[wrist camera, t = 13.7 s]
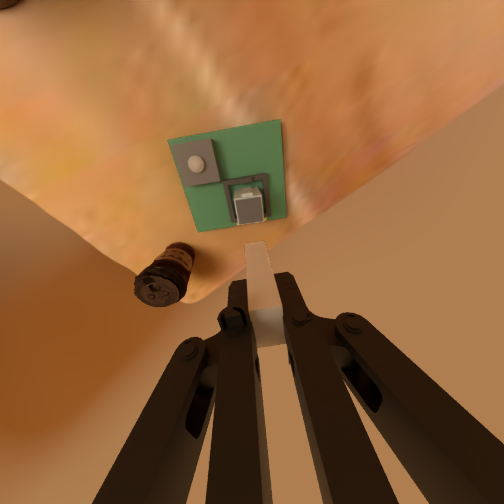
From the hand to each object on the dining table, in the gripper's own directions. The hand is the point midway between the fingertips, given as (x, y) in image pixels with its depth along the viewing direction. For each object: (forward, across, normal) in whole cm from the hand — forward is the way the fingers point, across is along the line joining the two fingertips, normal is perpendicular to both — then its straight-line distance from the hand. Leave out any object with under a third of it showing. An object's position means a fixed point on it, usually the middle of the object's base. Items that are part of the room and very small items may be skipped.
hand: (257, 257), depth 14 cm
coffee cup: (+24, -17, -10) cm, 31 cm away
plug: (+22, 0, 0) cm, 22 cm away
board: (+24, -2, +3) cm, 24 cm away
